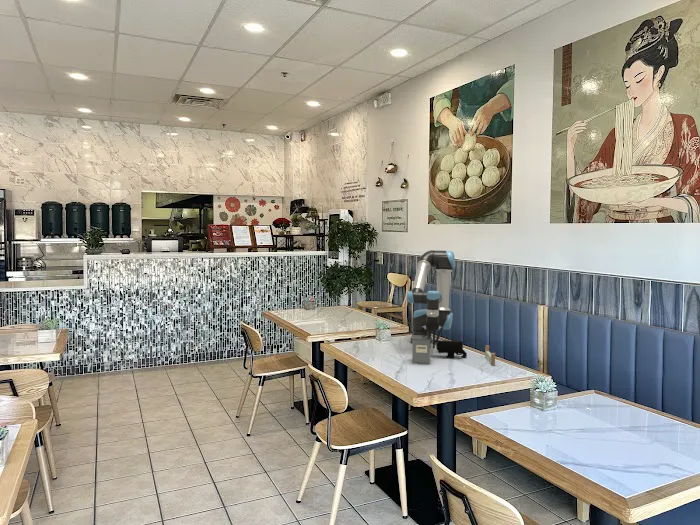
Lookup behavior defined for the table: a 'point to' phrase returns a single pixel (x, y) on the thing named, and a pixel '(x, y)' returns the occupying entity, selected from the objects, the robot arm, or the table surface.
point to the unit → (421, 349)
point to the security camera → (451, 348)
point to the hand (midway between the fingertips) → (431, 353)
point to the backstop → (490, 356)
